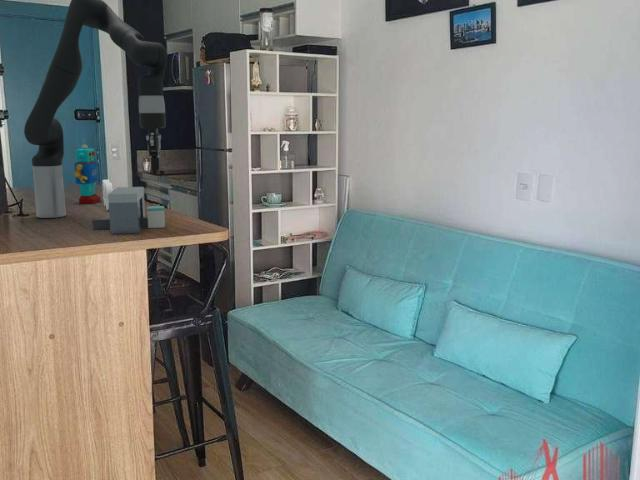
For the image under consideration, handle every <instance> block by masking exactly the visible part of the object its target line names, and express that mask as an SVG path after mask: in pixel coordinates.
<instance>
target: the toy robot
mask: <svg viewBox="0 0 640 480" xmlns="http://www.w3.org/2000/svg"><path fill="white" fill-rule="evenodd" d="M82 141H85V143H84V142H82V145H81V148H80V149H75V155H76V156H75V158H76V161H75V163H74V177H75V183H76V184H79V187H80V188H79V189H80V197H79V198H78V203H79V204H80V205H94V204H96V203H99V202H101V200H102V199H101V196H99V195H98V194H97V193H96V188H95V187H96V185H95V183H96V182H98V181H99V176H98V175H99V174H98V162H97V161H96V160H95V151H94V148H89V146H88V145H86V143H87V141H86V139H85V138H83V140H82Z"/></svg>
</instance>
